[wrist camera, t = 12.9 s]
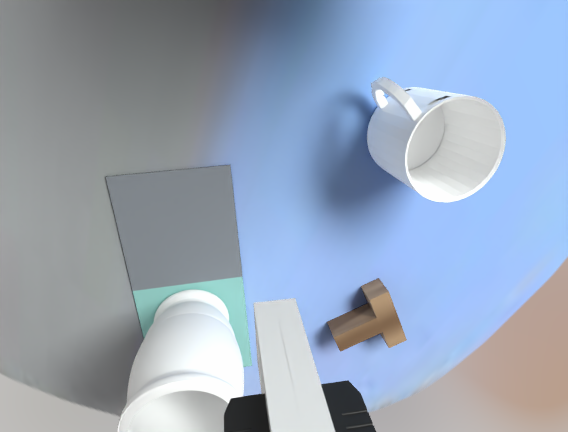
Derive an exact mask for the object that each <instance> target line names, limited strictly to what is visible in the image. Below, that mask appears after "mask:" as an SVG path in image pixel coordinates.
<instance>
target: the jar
mask: <svg viewBox="0 0 568 432" xmlns="http://www.w3.org/2000/svg"><path fill="white" fill-rule="evenodd" d="M243 391H244V369H243V362H242V357H241V353H240V349H239V346H238V344H237V341H236V338H235V334H234V331H233V329H232V327H231V325H230V323H229V314H228V310H227V308H226V306H225V304H224V303H223V301H222V300H221V299H220V298H218V297H217V296H216V295H214V294H212V293H210V292H207V291H203V290H184V291H180V292H178V293H175V294H173V295H171V296H170V297H168V298H167V299H165V300H164V301H163V302H162V303H161V305H160V306H159V307H158V309H157V311H156V313H155V316H154V323H153V324H152V325H151V327H150V329H149V330H148V332H147V334H146V336H145V338H144V341H143V342H142V344H141V346H140V348H139V350H138V352H137V355H136V357H135V360H134V363H133V366H132V369H131V373H130V377H129V383H128V391H127V404H126V406H125V407H124V409H123V411H122V413H121V416H120V419H119V424H118V432H224V413H225V411H226V408H227V406H228V403H229V401H230V399H231V398H236V397H243Z"/></svg>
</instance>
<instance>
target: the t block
mask: <svg viewBox="0 0 568 432" xmlns="http://www.w3.org/2000/svg"><path fill="white" fill-rule="evenodd" d="M361 288H362V290H363V293H364V295H365V298H366V300H367V304H365V305H363V306H361V307H358V308H356V309H354V310H352V311H350V312H348V313H345V314H343V315H341V316H339V317H337V318H334V319H332V320H330V321H328V322H327V323H328V326H329V328H330V330H331V333H332V335H333V337H334V339H335V341H336V344H337V346H338V348H339V350H340V351H343V350H345V349H347V348H349V347H351V346H353V345H356V344H358V343H360V342H362V341H364V340H366V339H369V338H371V337H373V336H375V335H377V334H381V336H382V337H383V339H384V341H385V342H386V344H387V346H388V347H389V348H390V347H393V346H395V345H397V344H399V343H401V342H403V341H406V337H405V334H404V332H403V329H402V326H401V323H400V321H399V318H398V315H397V313H396V310H395V307H394V305H393V302H392V299H391V297H390V294H389V291H388V290H387V289H386V287H385V286H384V285H383V283H382V282H381V281H380V279H379V278H378V279H376V280H373V281H371V282H369V283H367V284H365V285H363V286H361Z"/></svg>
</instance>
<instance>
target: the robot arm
mask: <svg viewBox="0 0 568 432" xmlns="http://www.w3.org/2000/svg"><path fill="white" fill-rule="evenodd" d="M254 315H255V330H256V345H257V360H258V368H259V376H260V384H261V392H262V394H257V395H250V396H243V397H236V398H231V399H230V401H229V403H228V406H227V408H226V411H225V413H224V432H376V431H375V428H374V426H373V425H372V420H371V418H370V416H369V413H368V412H367V408H366V406H365V403H364V401H363V398H362V396H361V393H360V392H359V391H358V390H357V389H356V388H355V387H354V386H353V385H352V384H351V383H350V382H349V381H342V382H335V383H328V384H321V383H320V379H319V376H318V373H317V370H316V366H315V363H314V360H313V356H312V353H311V350H310V346H309V343H308V340H307V336H306V333H305V330H304V326H303V323H302V320H301V316H300V313H299V310H298V307H297V303H296V300H295V298H293V299H284V300H275V301H266V302H257V303H254Z"/></svg>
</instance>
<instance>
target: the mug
mask: <svg viewBox="0 0 568 432" xmlns="http://www.w3.org/2000/svg"><path fill="white" fill-rule="evenodd" d="M371 87H372V95H373V98H374V100H375V102H376V104H377V106H378V107H377V108H376V110H375V112H374V113H373V115H372V117H371V120H370V123H369V125H368V131H367V144H368V148H369V152H370V154H371V156H372V158H373V159H374V161H375V162H376V164H378V165H379V166H380V167H381V168H382V169H384V170H385V171H387V172H388V173H390V174H391V175H393V176H394V177H395V178H397V179H398V180H400V181H401V182H403V183H404V184H406V185H407V186H409V187H410V188H412V189H413V190H415V191H416V192H418V193H419V194H421V195H422V196H424V197H426V198H428V199H430V200H433V201H437V202H452V201H458V200H460V199H463V198H466V197H468V196H470V195H471V194H473V193H475V192H476V191H478V190H479V189H480V188H481V187H483V186H484V185H485V184H486V183H487V182H488V181H489V179H490V178H491V177H492V176H493V174H494V173H495V171H496V170H497V168H498V166H499V164H500V162H501V160H502V156H503V153H504V149H505V141H506V136H505V127H504V124H503V120H502V118H501V116H500V115H499V113H498V111H497V110H496V109H495V108H494V107H493V106H492V105H491V104H490V103H488V102H487V101H485V100H483V99H480V98H477V97H474V96H468V95H461V94H455V93H449V92H443V91H437V90H431V89H425V88H417V87H411V88H404V89H402V88H401V87H400V86H399V85H397V84H396V83H395V82H393V81H391V80H389V79H388V78H385V77H382V78H378V79H377V80H376V81H374V82H372V83H371ZM383 92H385V93H386V94H388V95H389V96H388V97H387V98H385V96H384V93H383Z"/></svg>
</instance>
